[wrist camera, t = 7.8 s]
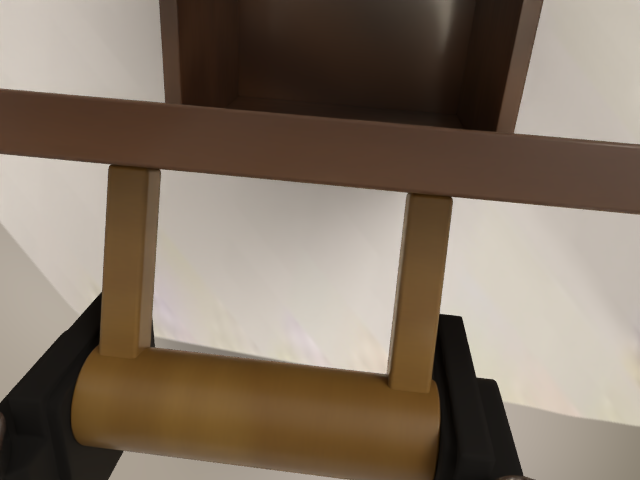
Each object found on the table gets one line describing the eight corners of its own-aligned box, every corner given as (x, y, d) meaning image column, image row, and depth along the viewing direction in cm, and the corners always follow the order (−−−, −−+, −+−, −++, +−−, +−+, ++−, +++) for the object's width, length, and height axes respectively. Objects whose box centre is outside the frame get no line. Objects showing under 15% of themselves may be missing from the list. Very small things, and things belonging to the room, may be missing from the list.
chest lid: (-347, 57, 7) (-331, 484, 8) (951, 171, 6) (846, 648, 7) (165, 149, 25) (157, 272, 26) (505, 181, 24) (488, 308, 25)
